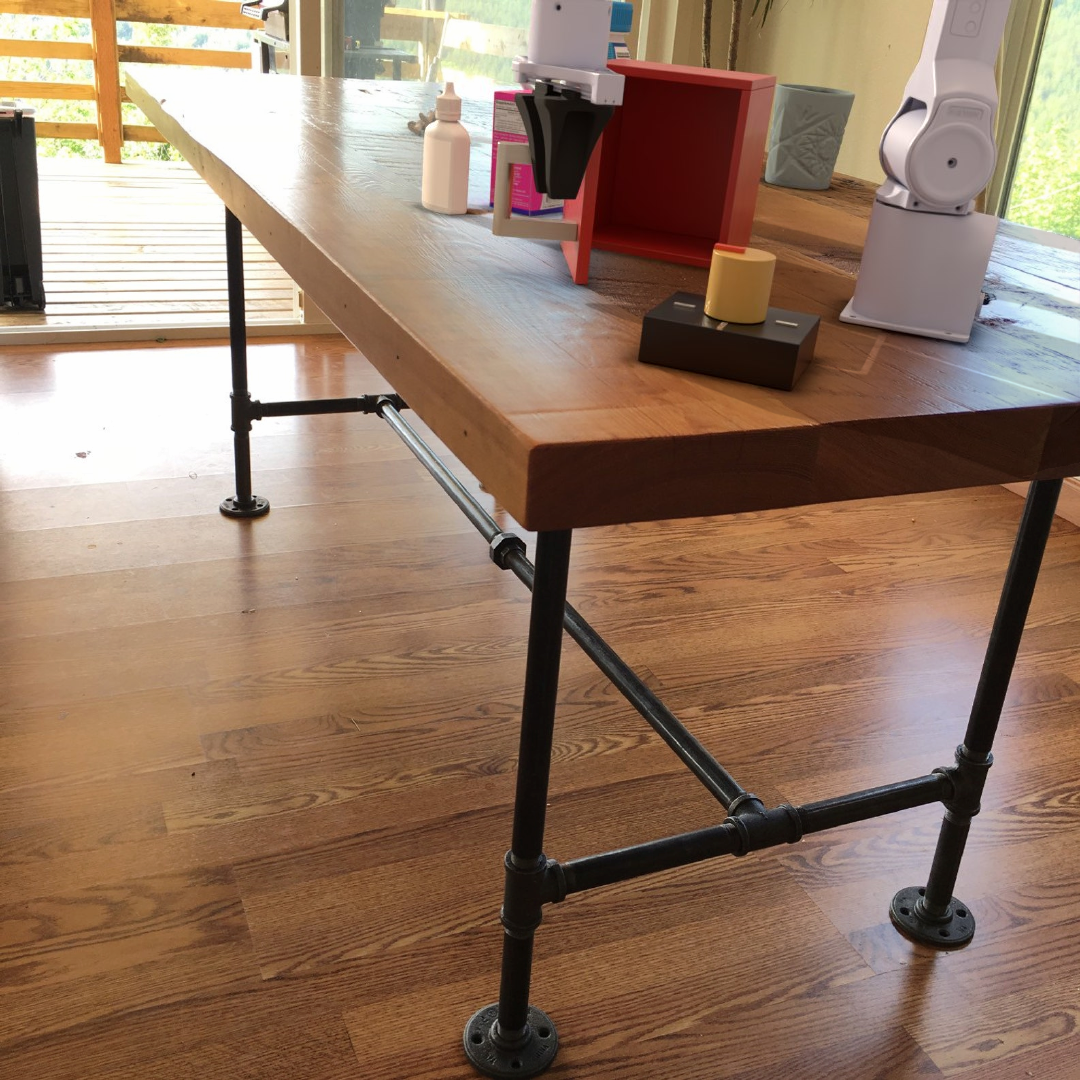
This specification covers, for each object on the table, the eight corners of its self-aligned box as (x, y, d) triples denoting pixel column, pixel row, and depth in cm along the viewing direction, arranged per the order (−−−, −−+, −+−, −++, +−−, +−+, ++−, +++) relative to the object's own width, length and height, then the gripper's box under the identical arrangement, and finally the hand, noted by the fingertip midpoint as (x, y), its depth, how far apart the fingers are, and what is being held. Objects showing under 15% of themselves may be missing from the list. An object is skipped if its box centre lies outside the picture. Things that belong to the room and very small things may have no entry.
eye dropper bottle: (422, 214, 110) (427, 83, 104) (421, 203, 115) (425, 77, 109) (467, 217, 110) (474, 86, 105) (463, 206, 115) (470, 81, 110)
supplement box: (521, 202, 120) (530, 88, 115) (565, 212, 117) (575, 95, 112) (485, 207, 116) (493, 88, 111) (529, 217, 113) (539, 96, 108)
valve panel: (812, 359, 76) (822, 313, 75) (790, 392, 69) (799, 342, 68) (672, 332, 79) (678, 287, 78) (637, 361, 72) (643, 313, 71)
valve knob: (771, 313, 74) (782, 248, 72) (758, 327, 71) (770, 259, 69) (712, 303, 75) (722, 238, 73) (697, 316, 72) (707, 248, 70)
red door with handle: (490, 278, 88) (504, 69, 81) (486, 239, 101) (497, 55, 94) (587, 284, 89) (608, 78, 82) (570, 245, 102) (587, 63, 95)
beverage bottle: (559, 189, 130) (576, -2, 121) (544, 176, 137) (559, -5, 128) (629, 192, 132) (650, 5, 123) (610, 180, 139) (629, 2, 130)
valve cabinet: (722, 271, 98) (752, 80, 91) (568, 245, 103) (585, 61, 96) (747, 252, 107) (777, 76, 100) (603, 228, 111) (622, 58, 104)
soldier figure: (393, 139, 163) (412, 104, 172) (417, 163, 165) (435, 128, 174) (428, 105, 159) (446, 71, 167) (453, 130, 161) (469, 96, 169)
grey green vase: (761, 174, 155) (777, 81, 150) (835, 183, 154) (853, 89, 148) (759, 184, 146) (775, 86, 141) (838, 194, 145) (857, 95, 140)
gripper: (482, -12, 83) (472, 178, 89) (564, -3, 71) (546, 214, 77) (568, -4, 86) (553, 179, 92) (660, 5, 74) (636, 214, 80)
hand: (555, 195), depth 85 cm, fingers closed
